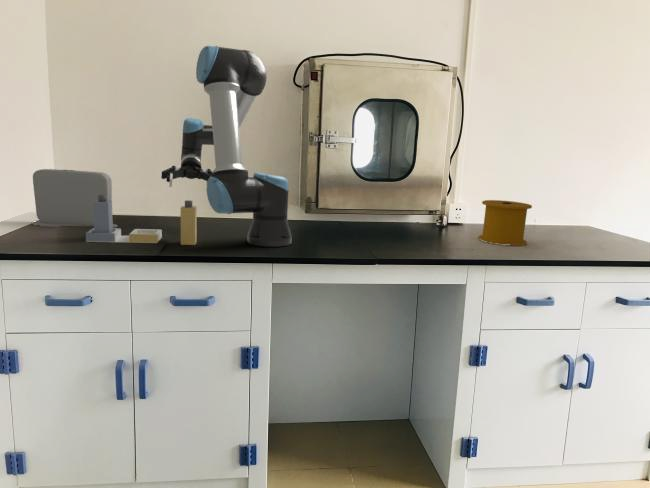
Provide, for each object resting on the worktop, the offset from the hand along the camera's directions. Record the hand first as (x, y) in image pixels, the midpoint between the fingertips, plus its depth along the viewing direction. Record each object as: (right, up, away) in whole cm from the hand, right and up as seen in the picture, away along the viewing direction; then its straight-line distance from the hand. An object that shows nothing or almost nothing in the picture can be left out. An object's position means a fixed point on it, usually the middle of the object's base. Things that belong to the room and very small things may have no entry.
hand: (191, 184), depth 179 cm
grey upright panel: (-46, -14, +12) cm, 49 cm away
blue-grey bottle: (-25, -19, -11) cm, 33 cm away
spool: (+114, -19, +24) cm, 118 cm away
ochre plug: (+1, -20, -7) cm, 21 cm away
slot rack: (-19, -20, -10) cm, 29 cm away
